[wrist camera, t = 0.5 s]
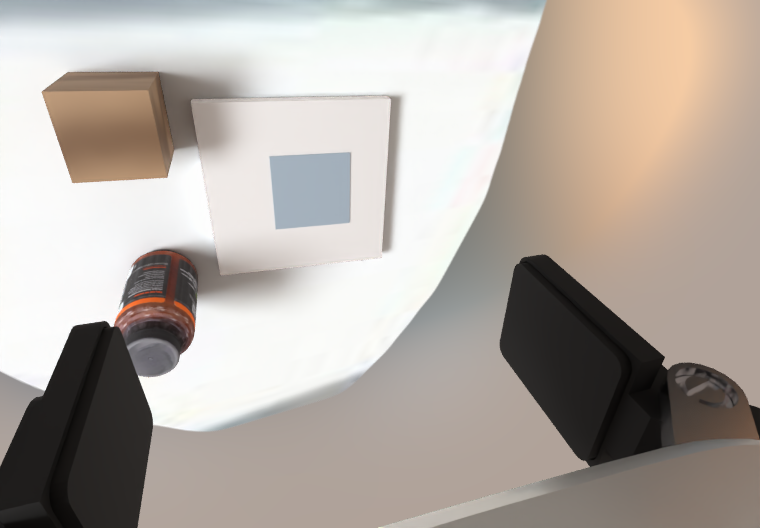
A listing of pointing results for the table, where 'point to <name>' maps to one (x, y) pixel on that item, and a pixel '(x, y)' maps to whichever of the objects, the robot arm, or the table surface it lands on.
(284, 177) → the plate
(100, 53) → the table surface
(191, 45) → the table surface
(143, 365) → the supplement bottle
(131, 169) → the walnut cube
